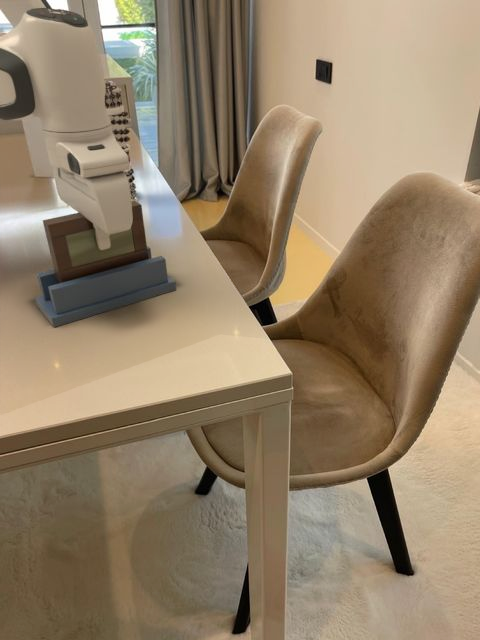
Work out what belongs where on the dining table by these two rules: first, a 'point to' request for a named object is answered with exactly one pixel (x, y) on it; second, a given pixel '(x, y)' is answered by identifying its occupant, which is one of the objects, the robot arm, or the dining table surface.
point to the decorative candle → (119, 126)
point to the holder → (102, 290)
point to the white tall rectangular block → (37, 147)
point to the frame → (92, 245)
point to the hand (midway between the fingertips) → (98, 244)
